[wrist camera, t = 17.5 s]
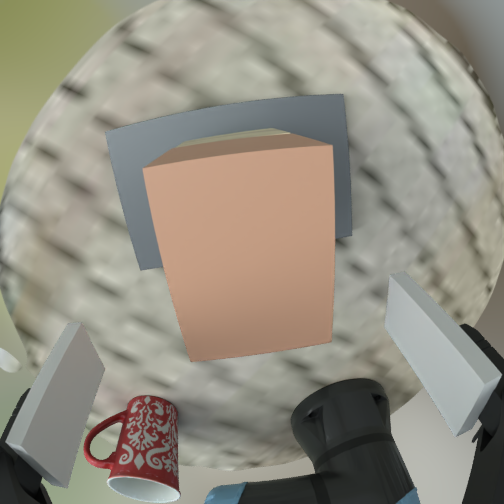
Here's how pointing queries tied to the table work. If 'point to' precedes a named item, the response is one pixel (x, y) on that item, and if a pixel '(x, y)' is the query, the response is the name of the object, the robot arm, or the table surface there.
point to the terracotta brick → (247, 242)
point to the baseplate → (219, 123)
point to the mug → (142, 451)
